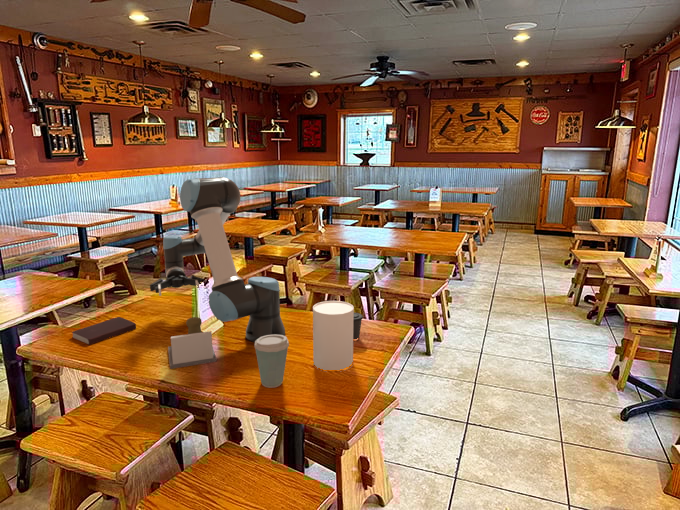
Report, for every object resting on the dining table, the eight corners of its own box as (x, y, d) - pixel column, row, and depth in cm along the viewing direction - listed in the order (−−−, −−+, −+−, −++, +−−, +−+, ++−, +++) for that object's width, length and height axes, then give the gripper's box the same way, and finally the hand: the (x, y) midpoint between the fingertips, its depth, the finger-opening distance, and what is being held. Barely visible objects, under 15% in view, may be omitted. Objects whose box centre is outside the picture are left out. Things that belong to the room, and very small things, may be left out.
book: (136, 330, 187) (136, 322, 186) (89, 346, 171) (88, 338, 171) (119, 323, 194) (118, 316, 193) (71, 338, 178) (70, 330, 177)
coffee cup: (339, 341, 175) (339, 316, 173) (344, 333, 183) (344, 309, 181) (360, 343, 173) (360, 318, 171) (364, 335, 181) (365, 311, 179)
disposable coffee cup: (248, 385, 143) (246, 339, 140) (271, 371, 152) (270, 328, 148) (274, 395, 137) (272, 348, 134) (296, 380, 146) (296, 336, 142)
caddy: (168, 349, 167) (165, 322, 165) (210, 343, 173) (209, 317, 171) (170, 368, 153) (167, 339, 151) (216, 361, 159) (214, 332, 156)
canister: (331, 376, 149) (331, 317, 144) (305, 362, 159) (304, 306, 154) (361, 363, 158) (362, 307, 153) (334, 350, 167) (334, 298, 163)
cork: (203, 344, 169) (201, 315, 168) (205, 348, 163) (203, 317, 163) (186, 347, 167) (184, 317, 166) (187, 351, 161) (185, 320, 160)
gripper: (207, 282, 197) (214, 295, 178) (144, 289, 188) (144, 303, 169) (206, 265, 196) (212, 276, 176) (142, 271, 186) (142, 284, 167)
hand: (179, 290), depth 172 cm, fingers open, 13 cm apart
